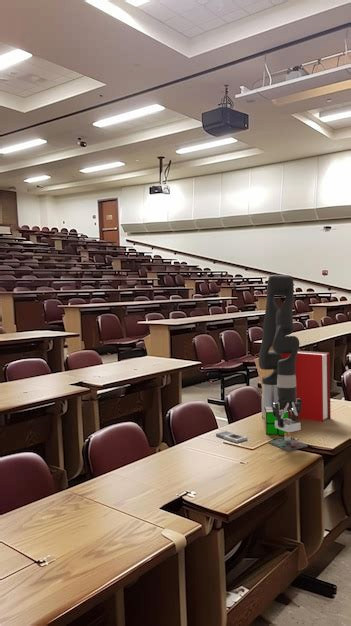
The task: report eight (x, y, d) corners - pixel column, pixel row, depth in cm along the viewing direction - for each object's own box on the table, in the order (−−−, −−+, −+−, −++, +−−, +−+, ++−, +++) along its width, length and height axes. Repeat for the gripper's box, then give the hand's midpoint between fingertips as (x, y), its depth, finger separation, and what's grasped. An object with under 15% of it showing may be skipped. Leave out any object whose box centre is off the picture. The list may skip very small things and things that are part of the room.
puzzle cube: (286, 428, 220) (286, 406, 219) (289, 434, 210) (289, 412, 209) (264, 428, 221) (263, 406, 220) (266, 434, 211) (265, 412, 210)
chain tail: (215, 436, 211) (215, 433, 210) (226, 433, 214) (226, 430, 214) (236, 443, 200) (236, 440, 200) (247, 439, 204) (247, 437, 204)
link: (274, 427, 197) (274, 420, 197) (286, 425, 201) (286, 418, 200) (288, 432, 190) (288, 425, 190) (300, 429, 194) (300, 422, 193)
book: (330, 418, 233) (329, 352, 232) (323, 422, 227) (322, 354, 226) (280, 410, 252) (279, 349, 250) (272, 413, 246) (271, 351, 244)
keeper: (268, 443, 199) (268, 431, 198) (286, 439, 204) (286, 427, 203) (288, 451, 188) (288, 438, 188) (307, 446, 193) (307, 434, 193)
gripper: (293, 381, 202) (294, 421, 202) (266, 385, 195) (267, 426, 195) (306, 384, 195) (307, 425, 196) (279, 388, 188) (280, 431, 189)
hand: (287, 425), depth 196 cm, fingers closed on link, 6 cm apart
